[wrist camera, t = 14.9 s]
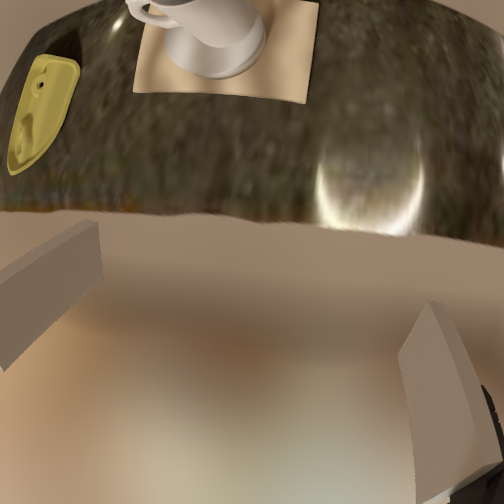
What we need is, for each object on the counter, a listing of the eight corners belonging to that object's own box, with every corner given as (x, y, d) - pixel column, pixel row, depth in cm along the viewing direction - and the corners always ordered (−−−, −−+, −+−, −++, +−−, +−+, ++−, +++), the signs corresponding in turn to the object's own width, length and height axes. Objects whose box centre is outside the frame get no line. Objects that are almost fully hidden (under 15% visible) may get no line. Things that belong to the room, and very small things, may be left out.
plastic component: (34, 57, 28) (45, 53, 24) (67, 63, 35) (85, 62, 31) (5, 162, 35) (11, 178, 31) (38, 163, 41) (50, 179, 37)
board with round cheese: (318, 8, 25) (320, -11, 20) (305, 104, 30) (307, 97, 25) (155, 6, 27) (137, -8, 22) (138, 92, 32) (115, 88, 27)
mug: (254, -3, 21) (231, -63, 10) (257, 46, 24) (233, -4, 13) (167, 12, 23) (111, -28, 12) (166, 60, 25) (103, 31, 14)
